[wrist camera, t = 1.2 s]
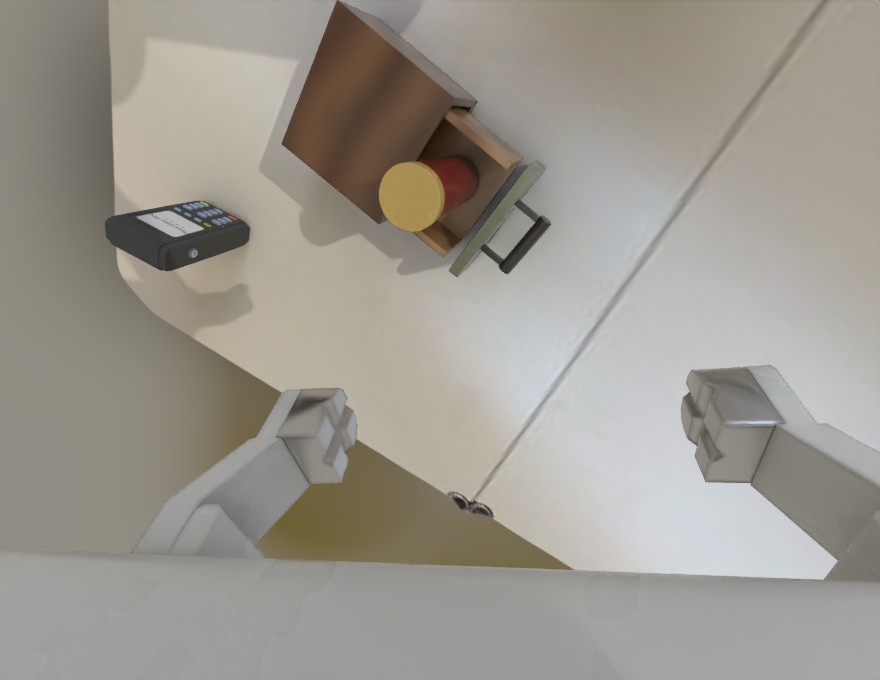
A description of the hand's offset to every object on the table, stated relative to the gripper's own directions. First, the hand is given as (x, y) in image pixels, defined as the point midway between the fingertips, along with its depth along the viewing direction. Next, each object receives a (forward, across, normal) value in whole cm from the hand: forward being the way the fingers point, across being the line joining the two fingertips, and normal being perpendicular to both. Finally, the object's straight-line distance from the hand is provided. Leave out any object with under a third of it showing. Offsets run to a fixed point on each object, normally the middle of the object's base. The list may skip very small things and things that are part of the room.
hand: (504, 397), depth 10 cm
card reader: (+50, +42, +11) cm, 66 cm away
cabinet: (+46, +13, +1) cm, 48 cm away
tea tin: (+42, +6, +7) cm, 43 cm away
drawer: (+42, +4, +9) cm, 43 cm away
